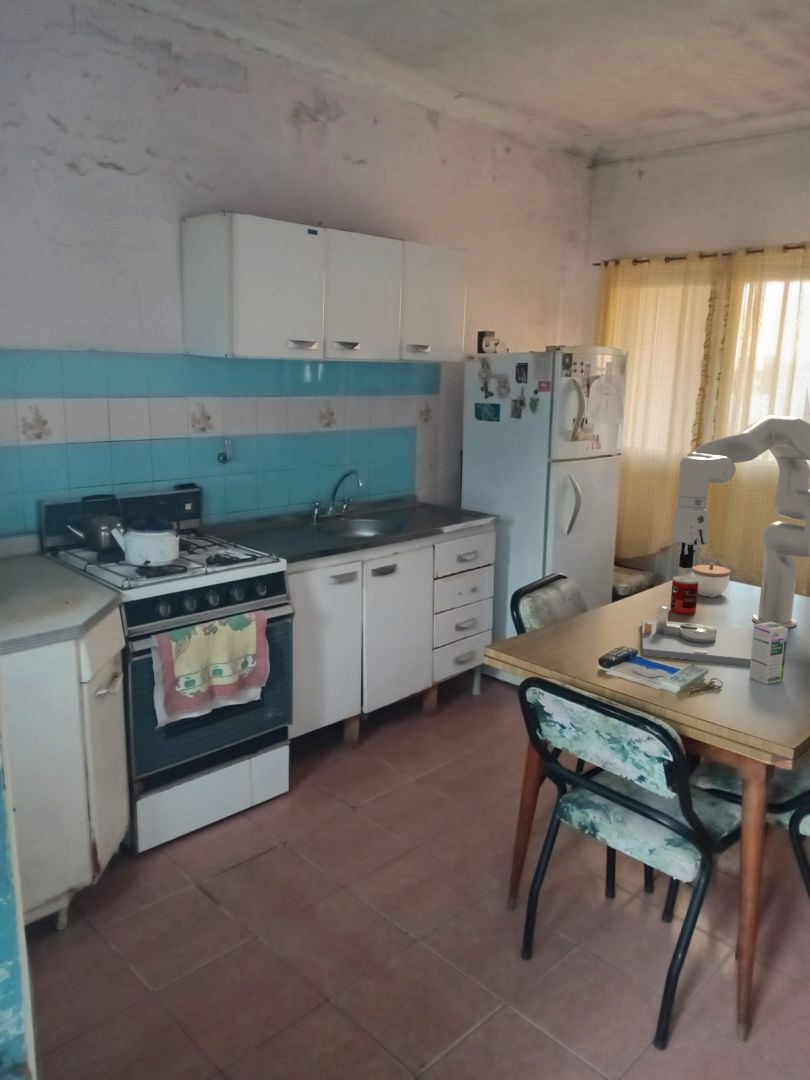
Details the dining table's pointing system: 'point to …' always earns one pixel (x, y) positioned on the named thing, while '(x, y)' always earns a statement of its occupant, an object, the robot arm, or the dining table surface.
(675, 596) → the canned food
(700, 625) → the grey piece
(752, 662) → the syrup box
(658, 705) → the dining table surface
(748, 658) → the board
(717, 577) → the lidded bowl
